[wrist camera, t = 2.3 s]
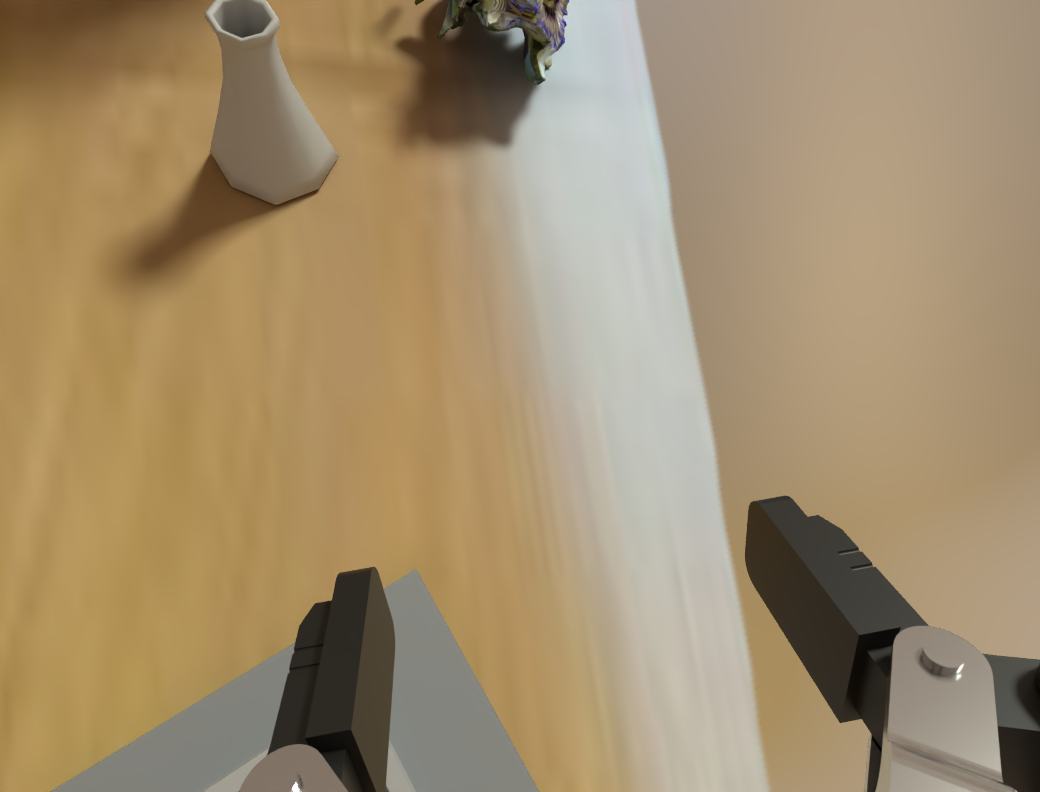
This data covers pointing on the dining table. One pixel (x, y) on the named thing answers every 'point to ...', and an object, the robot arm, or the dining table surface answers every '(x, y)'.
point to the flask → (263, 110)
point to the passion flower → (522, 4)
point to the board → (413, 724)
